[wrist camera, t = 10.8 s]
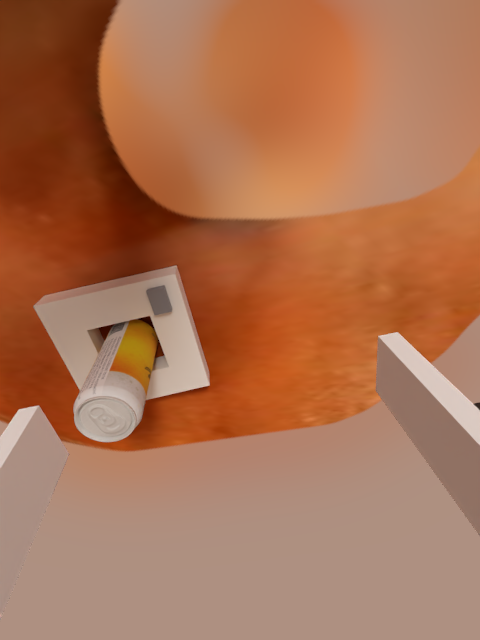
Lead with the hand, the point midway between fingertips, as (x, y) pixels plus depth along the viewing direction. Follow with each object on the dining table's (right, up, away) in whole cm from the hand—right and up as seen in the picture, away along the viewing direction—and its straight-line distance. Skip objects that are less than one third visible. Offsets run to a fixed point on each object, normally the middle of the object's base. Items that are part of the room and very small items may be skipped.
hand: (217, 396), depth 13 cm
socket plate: (-13, +1, +30) cm, 32 cm away
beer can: (-13, +1, +30) cm, 32 cm away
